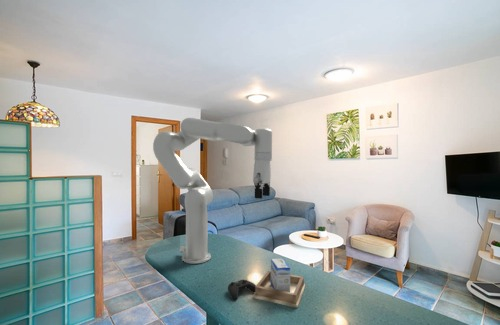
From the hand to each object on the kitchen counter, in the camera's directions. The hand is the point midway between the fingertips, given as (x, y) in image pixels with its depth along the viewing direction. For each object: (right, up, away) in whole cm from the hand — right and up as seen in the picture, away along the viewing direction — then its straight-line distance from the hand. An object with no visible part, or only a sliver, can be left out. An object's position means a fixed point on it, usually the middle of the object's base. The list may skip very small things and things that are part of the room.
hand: (262, 196), depth 105 cm
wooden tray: (+5, -28, -25) cm, 38 cm away
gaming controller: (-8, -28, -25) cm, 39 cm away
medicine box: (+5, -27, -25) cm, 37 cm away
